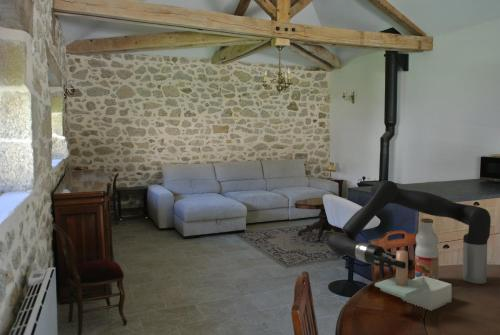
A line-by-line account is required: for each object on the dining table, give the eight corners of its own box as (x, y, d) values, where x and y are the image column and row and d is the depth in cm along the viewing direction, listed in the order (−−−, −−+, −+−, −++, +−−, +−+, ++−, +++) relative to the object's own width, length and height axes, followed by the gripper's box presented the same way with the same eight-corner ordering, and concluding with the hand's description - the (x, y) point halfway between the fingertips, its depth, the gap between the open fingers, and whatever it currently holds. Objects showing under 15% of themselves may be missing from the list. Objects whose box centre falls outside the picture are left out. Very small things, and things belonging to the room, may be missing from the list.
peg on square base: (398, 281, 150) (399, 245, 149) (428, 291, 140) (429, 252, 139) (374, 289, 142) (375, 251, 141) (404, 301, 132) (405, 259, 131)
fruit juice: (442, 285, 167) (443, 221, 165) (420, 285, 167) (421, 221, 165) (431, 277, 176) (432, 217, 175) (411, 278, 176) (411, 217, 175)
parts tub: (422, 292, 159) (422, 275, 159) (451, 301, 149) (451, 284, 149) (402, 300, 151) (402, 283, 151) (431, 311, 141) (431, 292, 141)
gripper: (357, 247, 148) (397, 257, 134) (381, 241, 156) (420, 251, 142) (357, 266, 148) (396, 278, 134) (380, 259, 156) (420, 271, 142)
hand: (408, 264), depth 138 cm, fingers closed on peg on square base, 4 cm apart
